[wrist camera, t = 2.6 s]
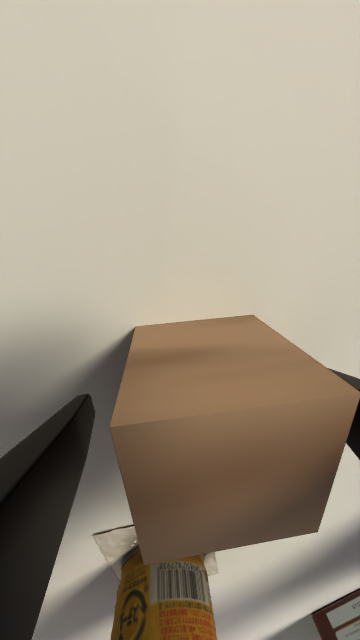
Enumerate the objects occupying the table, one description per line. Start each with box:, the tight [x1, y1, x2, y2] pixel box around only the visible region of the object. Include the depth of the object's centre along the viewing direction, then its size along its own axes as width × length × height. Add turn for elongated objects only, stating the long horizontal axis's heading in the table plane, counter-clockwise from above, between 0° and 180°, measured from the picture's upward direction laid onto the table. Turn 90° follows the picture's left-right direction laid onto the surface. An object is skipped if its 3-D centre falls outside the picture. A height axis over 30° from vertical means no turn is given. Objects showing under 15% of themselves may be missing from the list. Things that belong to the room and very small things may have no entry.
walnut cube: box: [109, 315, 360, 565], centre depth 7 cm, size 5×5×5 cm
